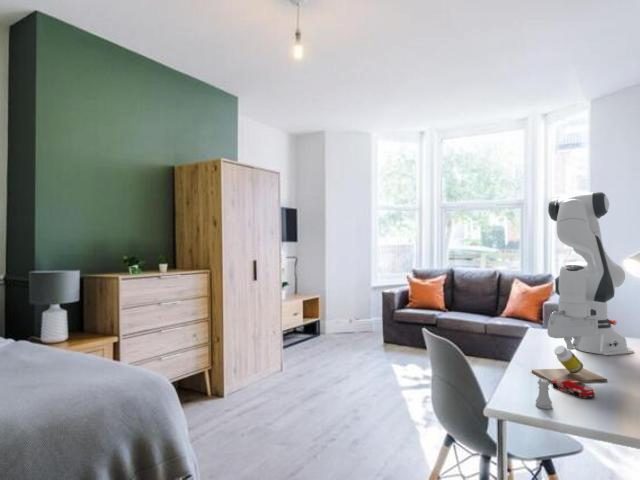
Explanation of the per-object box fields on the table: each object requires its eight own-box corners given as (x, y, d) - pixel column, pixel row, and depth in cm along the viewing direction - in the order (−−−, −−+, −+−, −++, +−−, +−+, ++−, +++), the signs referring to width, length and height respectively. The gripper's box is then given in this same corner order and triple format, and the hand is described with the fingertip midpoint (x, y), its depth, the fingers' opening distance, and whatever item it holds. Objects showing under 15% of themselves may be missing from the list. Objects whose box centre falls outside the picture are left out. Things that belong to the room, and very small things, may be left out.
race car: (548, 386, 138) (548, 375, 138) (561, 385, 139) (561, 373, 139) (583, 401, 125) (583, 388, 125) (597, 399, 126) (597, 386, 126)
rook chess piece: (532, 403, 123) (531, 377, 123) (546, 403, 123) (545, 376, 123) (541, 410, 118) (541, 382, 118) (555, 409, 119) (555, 382, 119)
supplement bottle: (587, 367, 143) (569, 348, 142) (574, 377, 144) (556, 358, 143) (578, 360, 148) (561, 341, 147) (566, 369, 149) (549, 350, 149)
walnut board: (583, 370, 152) (583, 368, 152) (607, 381, 141) (607, 378, 141) (531, 372, 151) (531, 369, 151) (551, 383, 139) (551, 380, 139)
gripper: (558, 312, 139) (558, 353, 139) (601, 310, 146) (601, 349, 145) (542, 310, 145) (542, 348, 145) (585, 308, 152) (585, 345, 151)
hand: (572, 349), depth 145 cm, fingers closed
